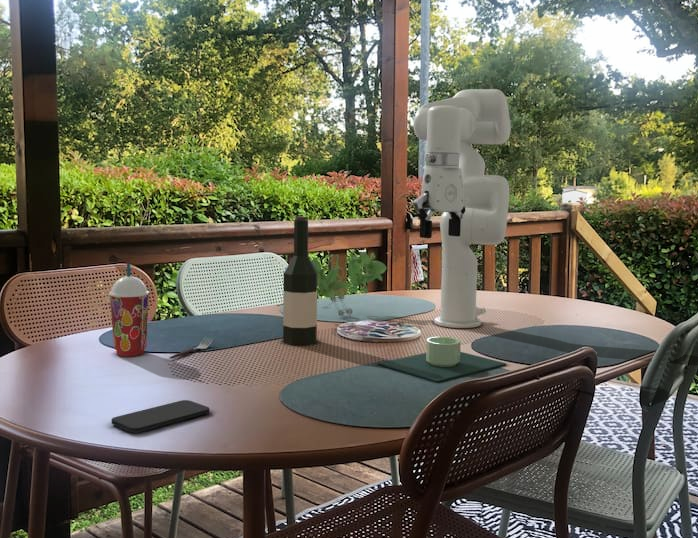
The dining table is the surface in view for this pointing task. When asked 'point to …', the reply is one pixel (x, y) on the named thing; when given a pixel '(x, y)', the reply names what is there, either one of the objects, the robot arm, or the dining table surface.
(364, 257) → the plant cuttings
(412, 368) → the placemat
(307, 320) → the wine bottle
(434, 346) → the bowl
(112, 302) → the smoothie
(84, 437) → the dining table surface
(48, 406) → the dining table surface
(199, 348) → the fork
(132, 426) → the phone
